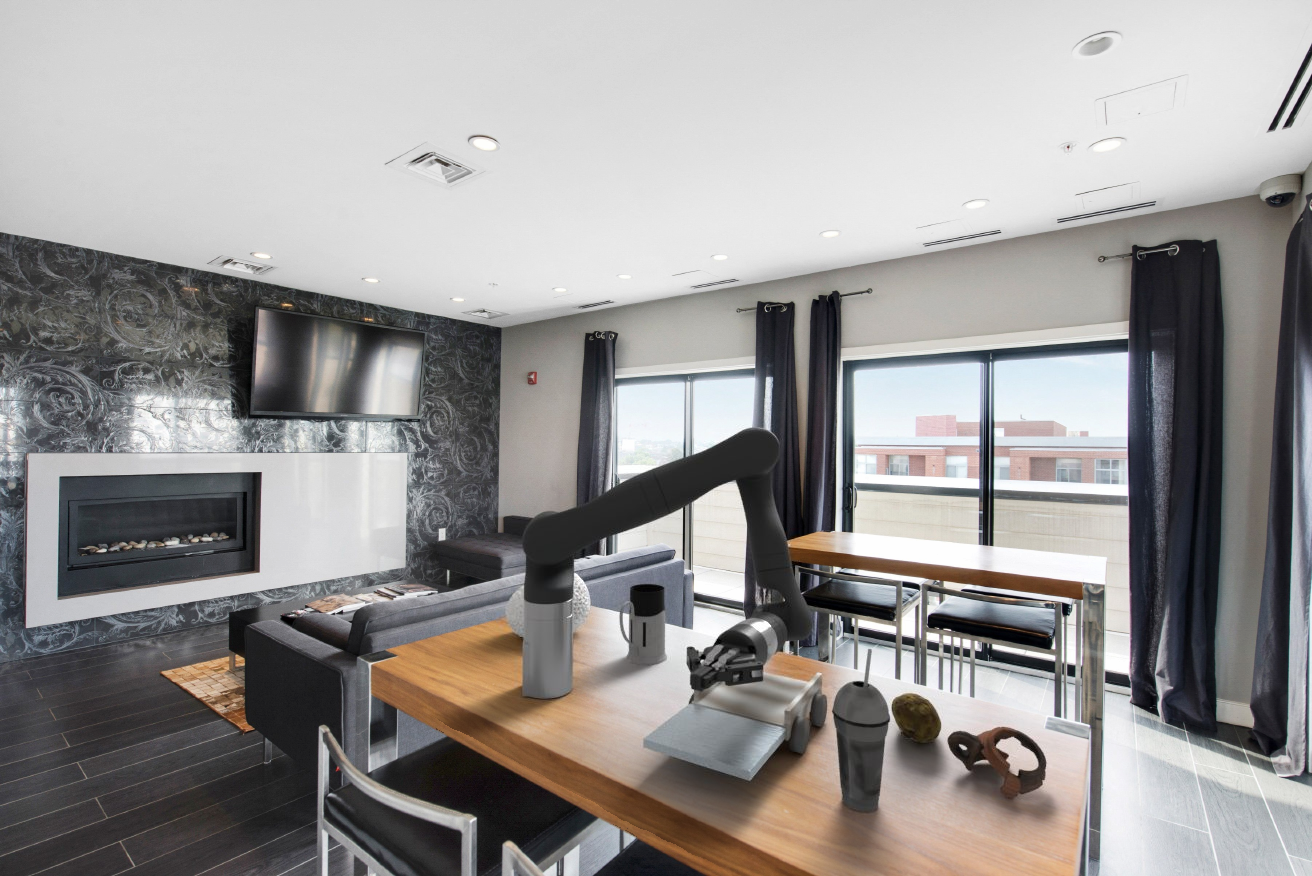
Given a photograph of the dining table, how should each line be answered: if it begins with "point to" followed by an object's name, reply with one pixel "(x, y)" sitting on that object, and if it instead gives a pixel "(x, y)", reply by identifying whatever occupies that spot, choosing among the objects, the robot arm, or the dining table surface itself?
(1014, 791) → the brown curved piece
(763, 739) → the panel
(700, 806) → the dining table surface
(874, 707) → the beverage cup
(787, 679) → the flatbed cart
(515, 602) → the cauliflower
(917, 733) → the potato
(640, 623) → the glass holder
